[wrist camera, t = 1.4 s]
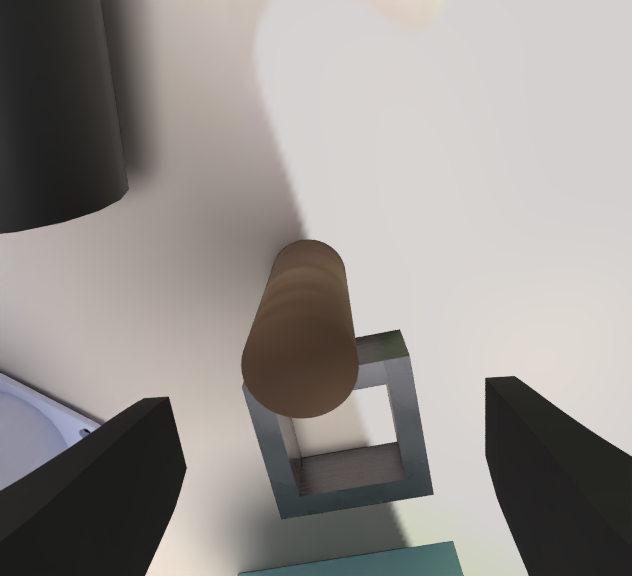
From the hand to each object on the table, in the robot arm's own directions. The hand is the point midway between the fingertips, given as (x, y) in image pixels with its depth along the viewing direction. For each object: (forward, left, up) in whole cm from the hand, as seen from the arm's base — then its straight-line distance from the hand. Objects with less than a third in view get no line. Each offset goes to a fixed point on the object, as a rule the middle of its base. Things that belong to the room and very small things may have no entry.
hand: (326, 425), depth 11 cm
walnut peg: (-1, 0, -10) cm, 10 cm away
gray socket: (+4, -4, -10) cm, 11 cm away
